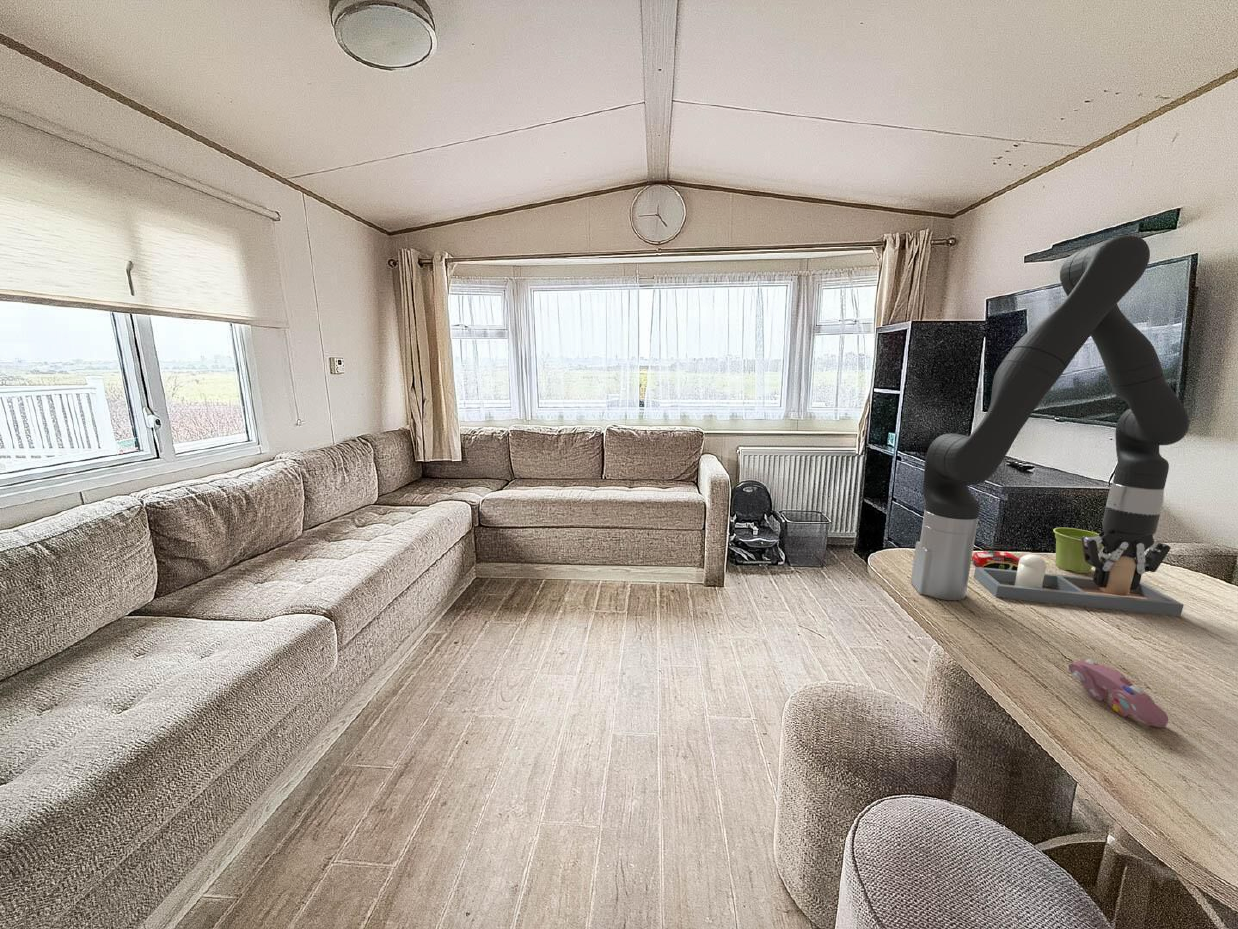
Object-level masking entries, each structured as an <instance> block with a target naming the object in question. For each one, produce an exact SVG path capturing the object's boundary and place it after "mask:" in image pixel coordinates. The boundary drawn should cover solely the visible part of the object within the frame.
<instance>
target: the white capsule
mask: <svg viewBox="0 0 1238 929" xmlns="http://www.w3.org/2000/svg"><path fill="white" fill-rule="evenodd" d="M1019 558H1020V560H1019V564H1018V569H1017V575H1016V580H1015V583H1014V584H1013V586H1022V587H1032V588H1042V589H1043V586H1042V585H1043V580H1044V575H1045V573H1046V569H1047V563H1046V561H1045V559H1043V558H1042V557H1041V556H1039V555H1037V554H1034V553H1032V554H1031V553H1028V554H1025V555H1023V556H1021V557H1019Z"/></svg>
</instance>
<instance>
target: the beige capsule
mask: <svg viewBox="0 0 1238 929" xmlns="http://www.w3.org/2000/svg"><path fill="white" fill-rule="evenodd" d="M1109 555H1111V554H1110V553H1109ZM1135 567H1136V563H1135V561H1134V559H1133V558H1130V557H1127V556H1123V557H1120V558H1119V559H1118V561H1117V562H1114V563H1113V565H1112V566H1111V568H1110V570H1109V572H1110V573H1109V578H1108V582H1107V587H1106V588H1101V587H1099V589H1100V590H1102V591H1104V592H1107V593H1110V594H1114V595H1119V596H1128V595H1129V593H1130V589H1131V584H1132V580H1133V576H1134V572H1135Z"/></svg>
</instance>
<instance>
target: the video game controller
mask: <svg viewBox="0 0 1238 929" xmlns="http://www.w3.org/2000/svg"><path fill="white" fill-rule="evenodd" d="M1068 669H1069V671H1070V673H1071V675H1072V677H1073V678H1074V679H1075V680H1076V681H1078V682H1079V683H1080V684H1082V686H1083V687H1084V688H1085V690H1086V692H1087V693H1088V694H1089V695H1090V696H1091V697H1092V698H1094V699H1095V700H1096V701H1099V702H1100V701H1104V700H1106V699H1108V704H1109V706H1110V707H1111V708H1112V710H1113V711H1114V712H1115V713H1117V714H1118V715H1120V716H1122V717H1128V716H1130V715H1131V716H1136V717H1137V718H1138V719H1140V720H1141V721H1142V722H1144V723H1145V724H1147V725H1150V726H1151V727H1154V728H1159V729H1160V728H1165V727H1166V726H1167V725H1168V723H1169V717H1168V715H1167V713H1166V712H1165V711H1164V710H1163V709H1162V708H1161V707H1160V706H1158V705H1157V704H1156V703H1155V701H1154V700H1153V698H1152V697H1151V696H1150V694H1148V693H1146V692H1145V691H1144V690H1143V688H1141V686H1138V685H1136V684H1134V683H1132V681H1131V680H1129V679H1128V678H1127V677H1126V676H1125V675H1124V674H1123V673H1122V672H1120V671H1118V670H1117V669H1116V668H1115V669H1114V668H1112V667H1110V666H1105V665H1104V664H1099V663H1096V662H1095V661H1094V660H1093V659H1091V658H1087V659H1083V660H1082V659H1081V660H1076V661H1073V662H1071V663H1069V664H1068ZM1109 694H1111V699H1109V696H1110V695H1109Z"/></svg>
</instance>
